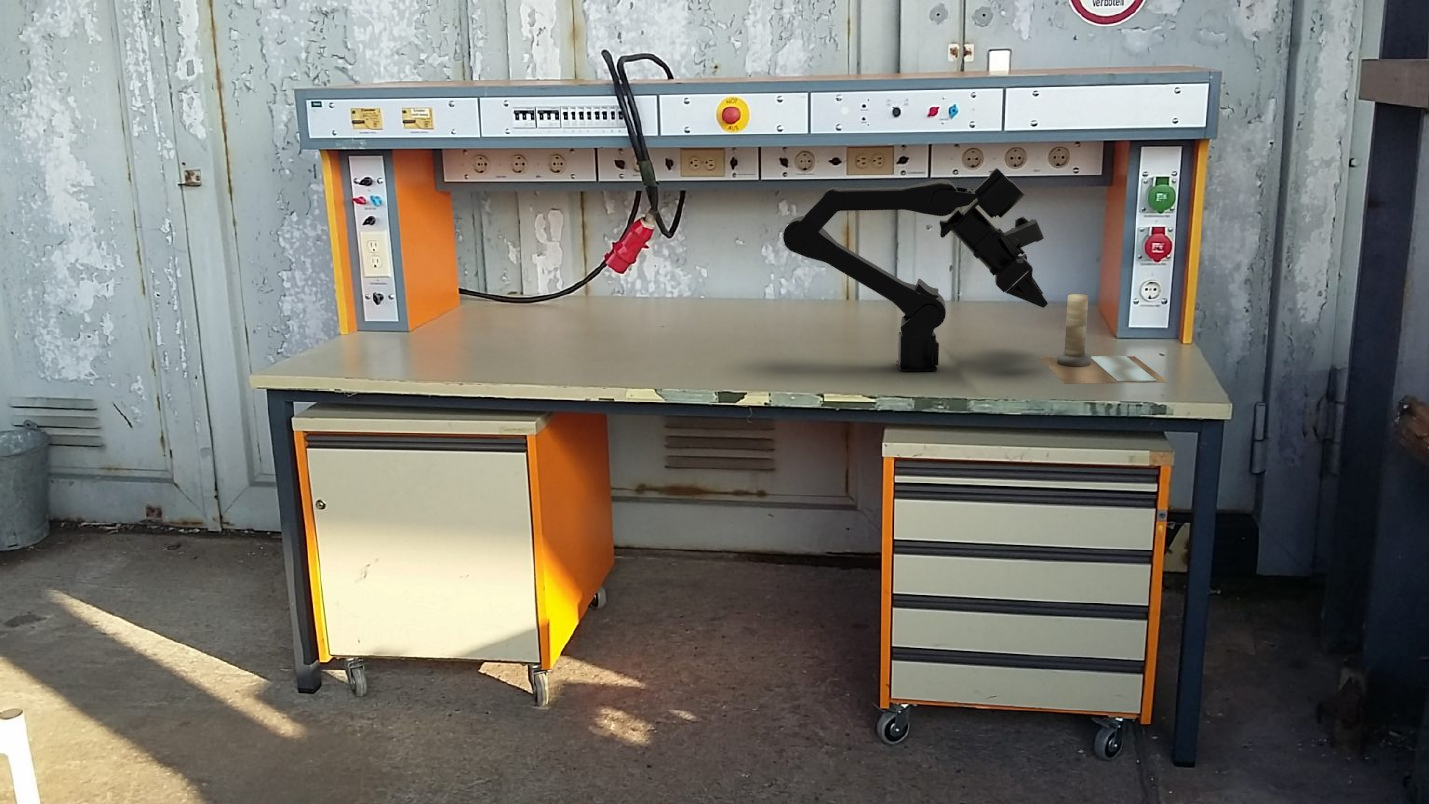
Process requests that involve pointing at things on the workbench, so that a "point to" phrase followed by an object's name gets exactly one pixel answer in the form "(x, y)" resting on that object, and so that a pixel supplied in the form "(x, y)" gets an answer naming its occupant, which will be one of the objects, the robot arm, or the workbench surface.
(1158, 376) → the board
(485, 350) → the workbench surface
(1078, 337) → the post
